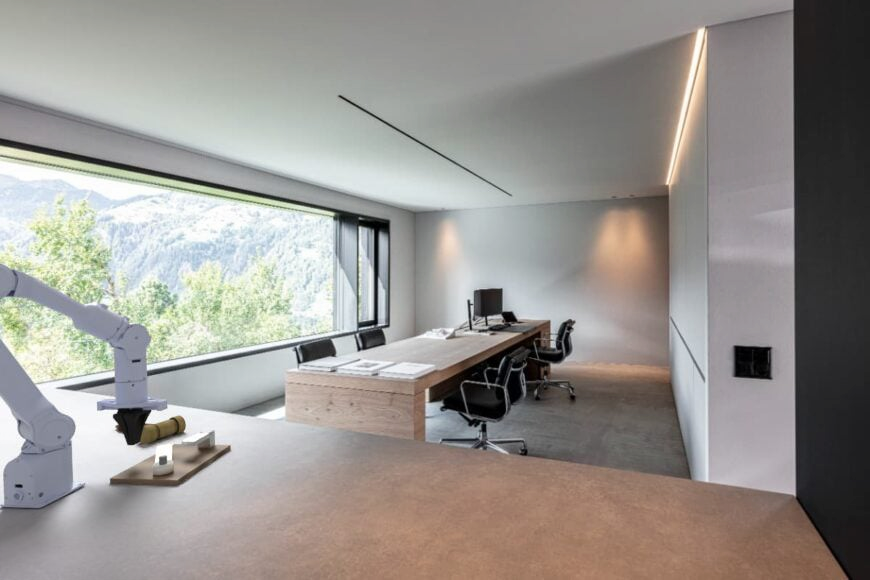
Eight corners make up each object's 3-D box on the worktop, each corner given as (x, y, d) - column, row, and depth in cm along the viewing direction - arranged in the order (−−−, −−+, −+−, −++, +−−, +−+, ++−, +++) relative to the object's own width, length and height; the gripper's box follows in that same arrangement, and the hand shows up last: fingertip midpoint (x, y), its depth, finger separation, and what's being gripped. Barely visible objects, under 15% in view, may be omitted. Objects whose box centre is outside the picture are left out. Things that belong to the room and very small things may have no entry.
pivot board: (177, 485, 88) (177, 480, 88) (109, 483, 90) (109, 478, 90) (230, 449, 107) (230, 445, 107) (174, 448, 109) (174, 444, 109)
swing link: (173, 473, 91) (173, 457, 91) (152, 477, 89) (152, 461, 89) (174, 451, 104) (173, 437, 104) (155, 454, 102) (155, 440, 102)
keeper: (195, 457, 100) (194, 441, 100) (182, 457, 100) (181, 441, 100) (215, 445, 107) (214, 430, 107) (202, 445, 108) (202, 430, 107)
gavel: (95, 423, 120) (134, 413, 129) (97, 441, 120) (135, 429, 129) (148, 427, 112) (185, 415, 121) (150, 445, 112) (187, 432, 121)
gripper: (176, 375, 100) (178, 437, 101) (114, 375, 102) (116, 436, 102) (153, 383, 93) (155, 449, 94) (87, 383, 95) (90, 448, 95)
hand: (133, 443), depth 97 cm, fingers closed
